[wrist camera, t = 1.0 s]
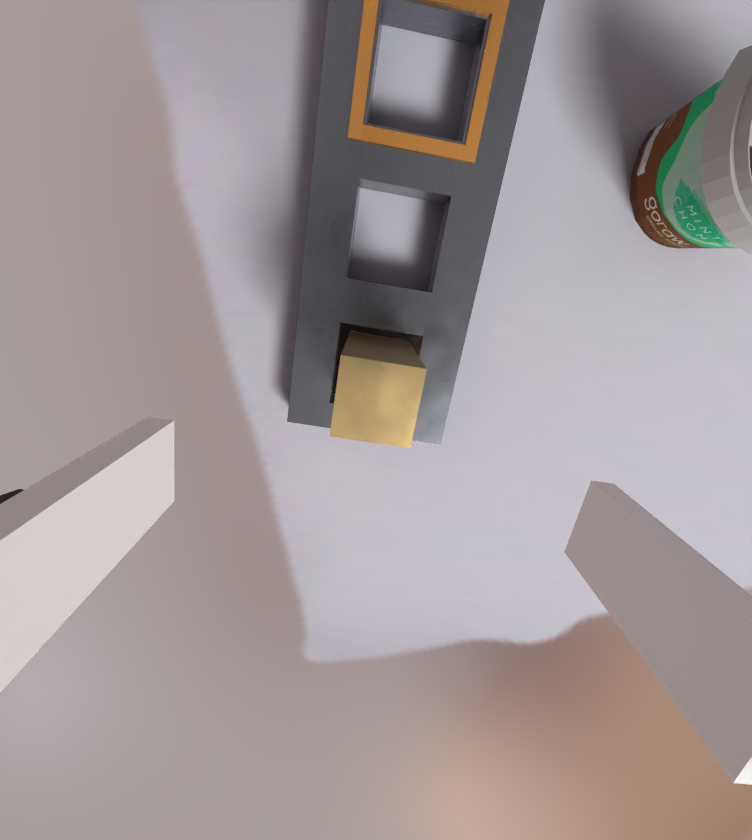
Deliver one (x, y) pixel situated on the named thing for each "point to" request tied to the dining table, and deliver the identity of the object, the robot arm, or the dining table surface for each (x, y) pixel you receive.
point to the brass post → (377, 390)
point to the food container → (700, 169)
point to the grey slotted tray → (405, 192)
